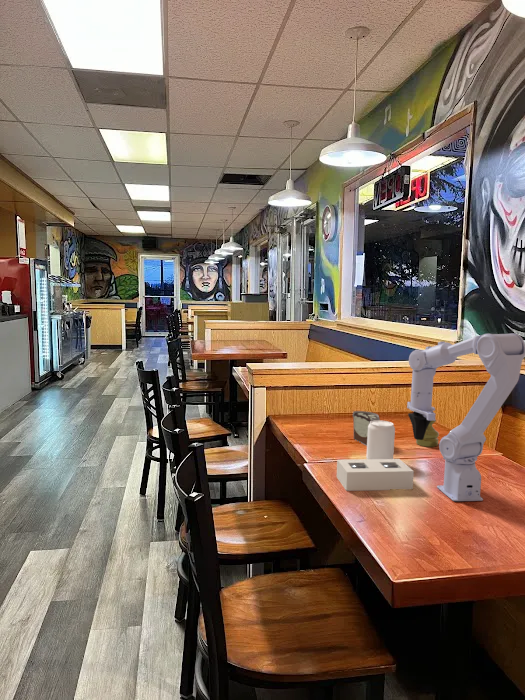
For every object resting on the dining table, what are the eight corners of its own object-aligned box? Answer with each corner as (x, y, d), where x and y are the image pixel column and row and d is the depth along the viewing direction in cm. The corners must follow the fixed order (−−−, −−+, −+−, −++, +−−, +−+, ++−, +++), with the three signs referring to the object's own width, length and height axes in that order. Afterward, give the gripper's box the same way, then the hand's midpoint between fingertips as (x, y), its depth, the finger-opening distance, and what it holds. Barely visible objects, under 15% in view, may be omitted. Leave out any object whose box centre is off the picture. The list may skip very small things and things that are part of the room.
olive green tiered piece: (416, 446, 171) (418, 417, 170) (415, 440, 179) (416, 413, 177) (439, 448, 170) (441, 419, 169) (437, 442, 177) (438, 414, 176)
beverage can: (393, 458, 158) (395, 421, 156) (392, 466, 150) (395, 427, 149) (366, 455, 160) (368, 418, 158) (365, 463, 152) (367, 425, 151)
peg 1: (366, 484, 134) (367, 468, 133) (352, 484, 133) (353, 468, 133) (362, 478, 138) (363, 463, 137) (348, 479, 137) (348, 463, 137)
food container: (386, 446, 170) (387, 417, 169) (371, 448, 168) (372, 419, 167) (366, 436, 182) (367, 409, 181) (351, 438, 179) (352, 410, 178)
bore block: (412, 489, 132) (413, 471, 132) (346, 490, 130) (347, 472, 130) (398, 475, 142) (399, 458, 141) (336, 477, 140) (337, 459, 140)
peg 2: (399, 483, 135) (400, 467, 134) (385, 483, 134) (385, 467, 134) (393, 478, 139) (394, 462, 138) (379, 478, 138) (380, 462, 138)
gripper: (447, 397, 134) (443, 446, 136) (424, 387, 149) (421, 431, 150) (422, 397, 134) (418, 446, 135) (401, 387, 148) (398, 431, 150)
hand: (418, 438), depth 143 cm, fingers closed
